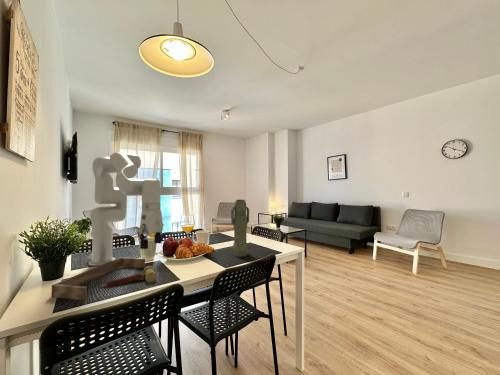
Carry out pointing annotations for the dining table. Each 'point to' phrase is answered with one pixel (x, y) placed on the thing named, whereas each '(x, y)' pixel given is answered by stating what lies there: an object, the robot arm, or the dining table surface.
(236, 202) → the tall olive-grey vase
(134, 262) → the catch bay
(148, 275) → the gavel
